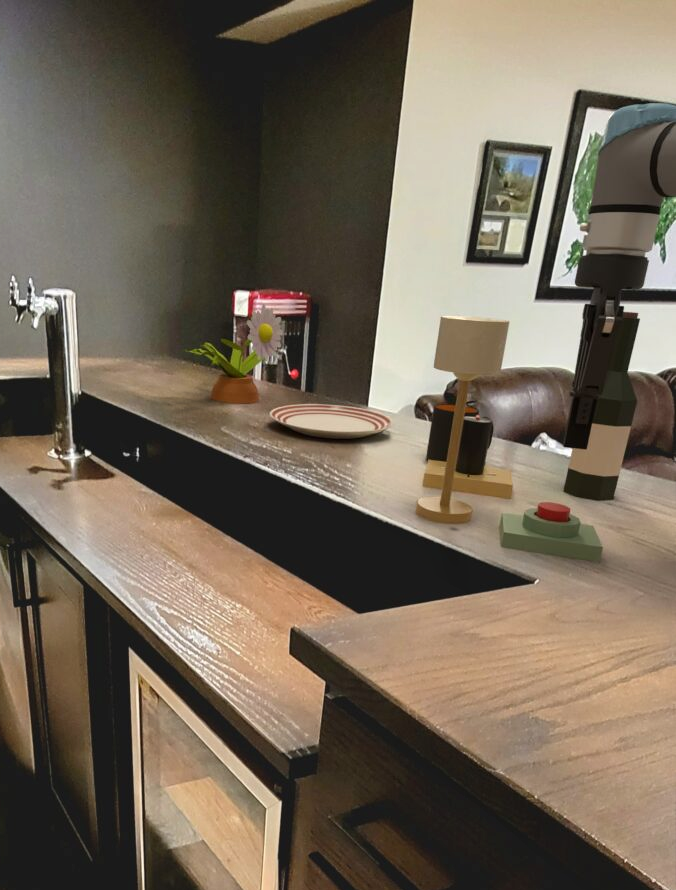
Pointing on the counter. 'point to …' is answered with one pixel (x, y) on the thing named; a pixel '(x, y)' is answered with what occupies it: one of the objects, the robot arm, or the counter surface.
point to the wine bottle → (607, 425)
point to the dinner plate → (331, 420)
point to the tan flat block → (471, 480)
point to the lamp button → (553, 512)
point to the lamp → (462, 395)
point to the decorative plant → (234, 381)
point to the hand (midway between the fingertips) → (574, 447)
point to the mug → (445, 430)
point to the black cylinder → (473, 445)
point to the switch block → (550, 536)
